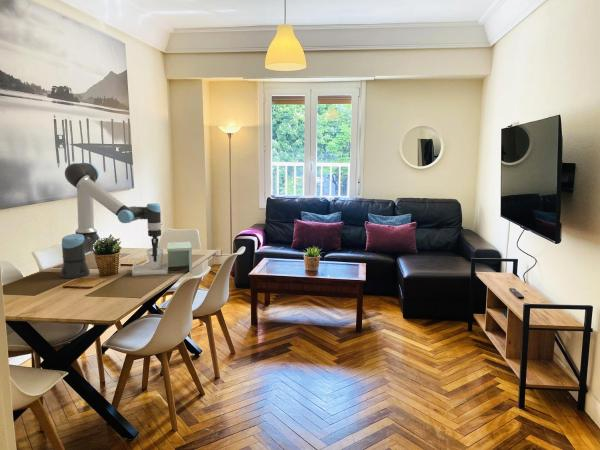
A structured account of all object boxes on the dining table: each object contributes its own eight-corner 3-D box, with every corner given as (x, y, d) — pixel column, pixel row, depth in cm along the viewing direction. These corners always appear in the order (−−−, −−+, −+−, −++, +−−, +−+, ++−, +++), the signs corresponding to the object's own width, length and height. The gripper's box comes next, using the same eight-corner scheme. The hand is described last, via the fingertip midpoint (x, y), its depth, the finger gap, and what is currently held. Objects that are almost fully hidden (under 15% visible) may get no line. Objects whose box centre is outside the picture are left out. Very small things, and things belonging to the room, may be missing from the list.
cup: (167, 264, 275) (166, 248, 272) (160, 271, 266) (159, 254, 262) (152, 263, 276) (150, 247, 273) (144, 269, 267) (143, 253, 263)
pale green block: (168, 274, 262) (167, 248, 260) (168, 266, 280) (167, 242, 278) (192, 273, 266) (191, 247, 264) (190, 265, 284) (190, 241, 282)
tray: (132, 275, 257) (131, 267, 256) (134, 269, 272) (134, 261, 272) (168, 273, 263) (167, 265, 262) (168, 267, 278) (168, 259, 277)
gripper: (160, 232, 253) (161, 268, 257) (161, 225, 277) (162, 258, 280) (146, 233, 251) (148, 269, 255) (148, 226, 275) (150, 259, 278)
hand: (155, 263), depth 268 cm, fingers open, 13 cm apart
